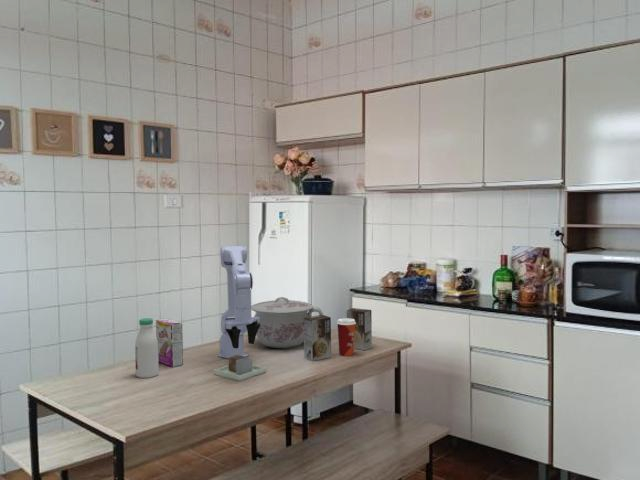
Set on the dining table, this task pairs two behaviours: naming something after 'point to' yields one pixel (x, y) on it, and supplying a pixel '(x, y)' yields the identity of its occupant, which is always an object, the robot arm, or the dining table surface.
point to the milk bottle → (146, 350)
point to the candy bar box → (169, 342)
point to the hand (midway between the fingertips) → (243, 345)
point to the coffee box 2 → (361, 328)
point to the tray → (232, 375)
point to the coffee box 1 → (317, 337)
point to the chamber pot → (282, 322)
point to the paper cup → (346, 336)
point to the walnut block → (234, 362)
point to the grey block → (243, 366)
